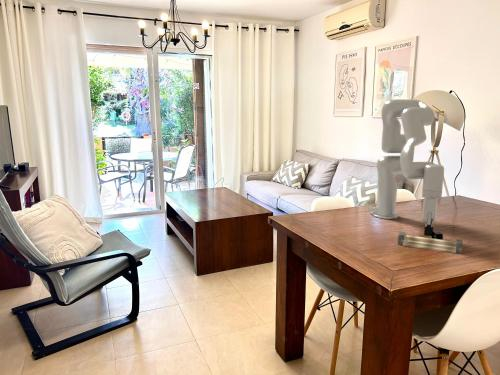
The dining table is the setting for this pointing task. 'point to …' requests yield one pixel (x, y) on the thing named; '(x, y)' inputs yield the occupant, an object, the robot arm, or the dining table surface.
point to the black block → (437, 235)
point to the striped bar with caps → (430, 243)
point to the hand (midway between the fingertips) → (428, 235)
